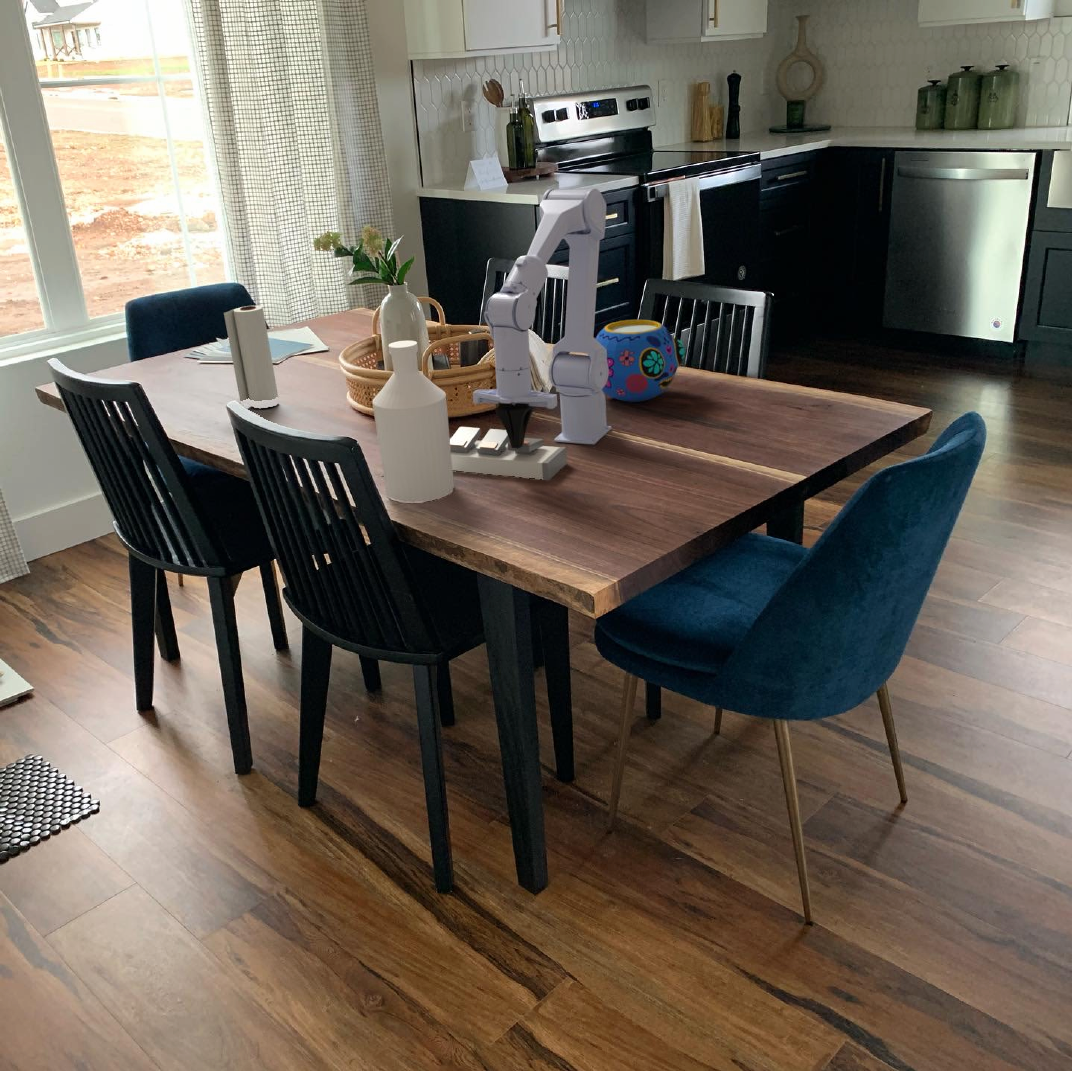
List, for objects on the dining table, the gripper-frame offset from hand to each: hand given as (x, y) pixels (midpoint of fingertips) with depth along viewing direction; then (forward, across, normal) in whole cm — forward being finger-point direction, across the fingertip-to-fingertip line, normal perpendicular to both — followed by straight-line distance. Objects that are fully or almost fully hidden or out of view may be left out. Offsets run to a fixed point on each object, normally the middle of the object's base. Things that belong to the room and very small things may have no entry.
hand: (517, 446), depth 180 cm
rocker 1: (+1, -12, +3) cm, 12 cm away
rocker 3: (+1, 0, +3) cm, 3 cm away
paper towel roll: (+5, -73, +26) cm, 77 cm away
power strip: (+5, -9, +3) cm, 11 cm away
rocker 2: (+1, -6, +3) cm, 7 cm away
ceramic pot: (+4, +5, +46) cm, 47 cm away
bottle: (+6, -14, -10) cm, 18 cm away
